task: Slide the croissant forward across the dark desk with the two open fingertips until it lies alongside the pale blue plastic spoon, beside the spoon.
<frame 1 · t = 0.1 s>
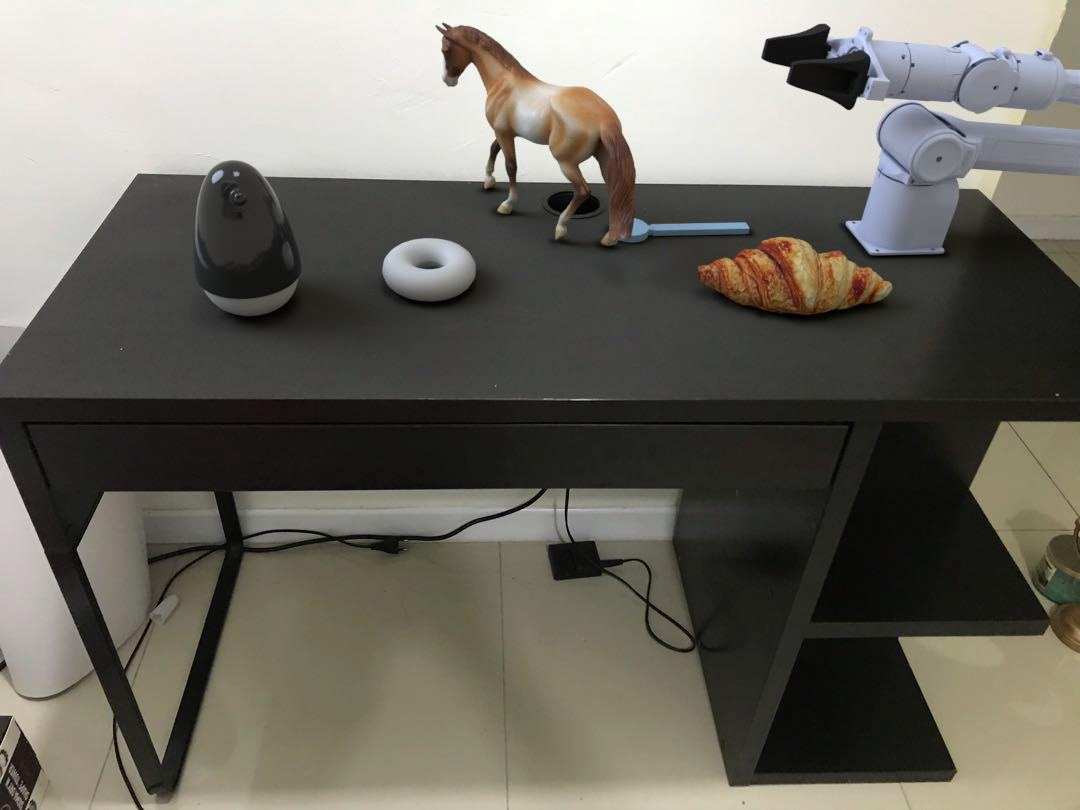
hand: (776, 60, 95), 22 cm above the table, tool horizontal, fingers open, 7 cm apart
donut: (429, 284, 98), on the table
pump dispenser: (255, 304, 93), on the table
spoon: (679, 232, 110), on the table
horse figurine: (527, 233, 108), on the table
croissant: (790, 300, 99), on the table
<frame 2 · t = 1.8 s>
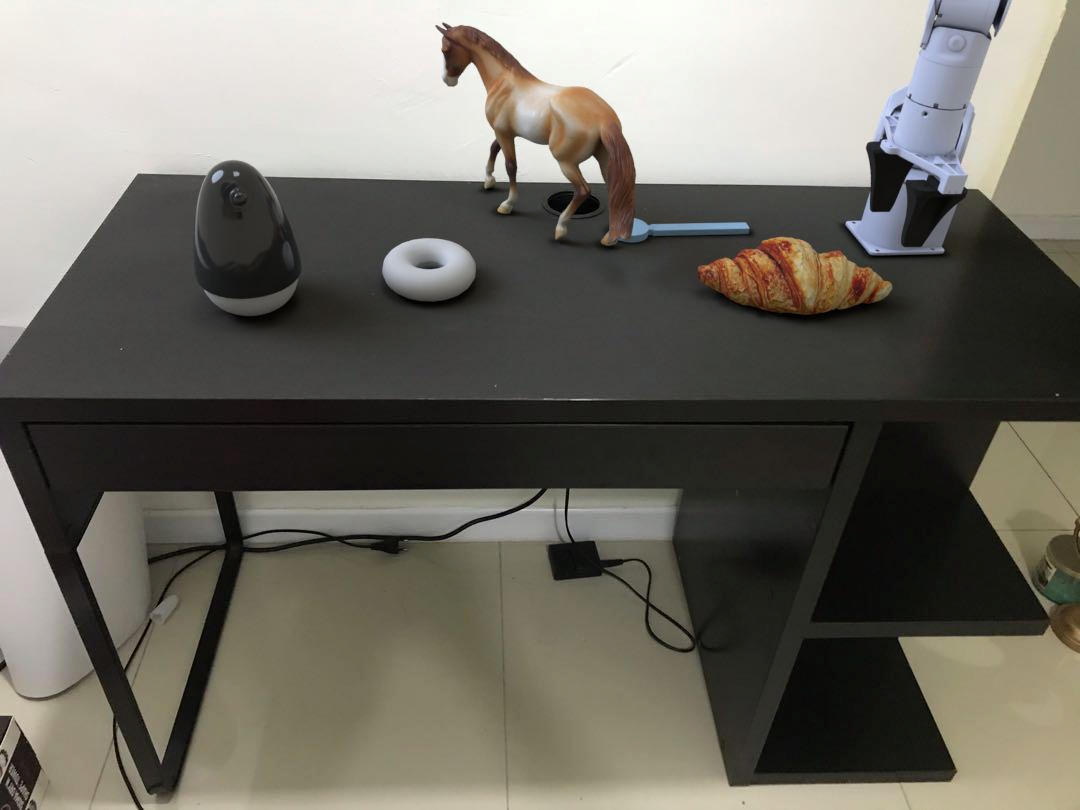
hand: (895, 227, 95), 8 cm above the table, tool pointing down, fingers open, 7 cm apart
nothing on the table moved.
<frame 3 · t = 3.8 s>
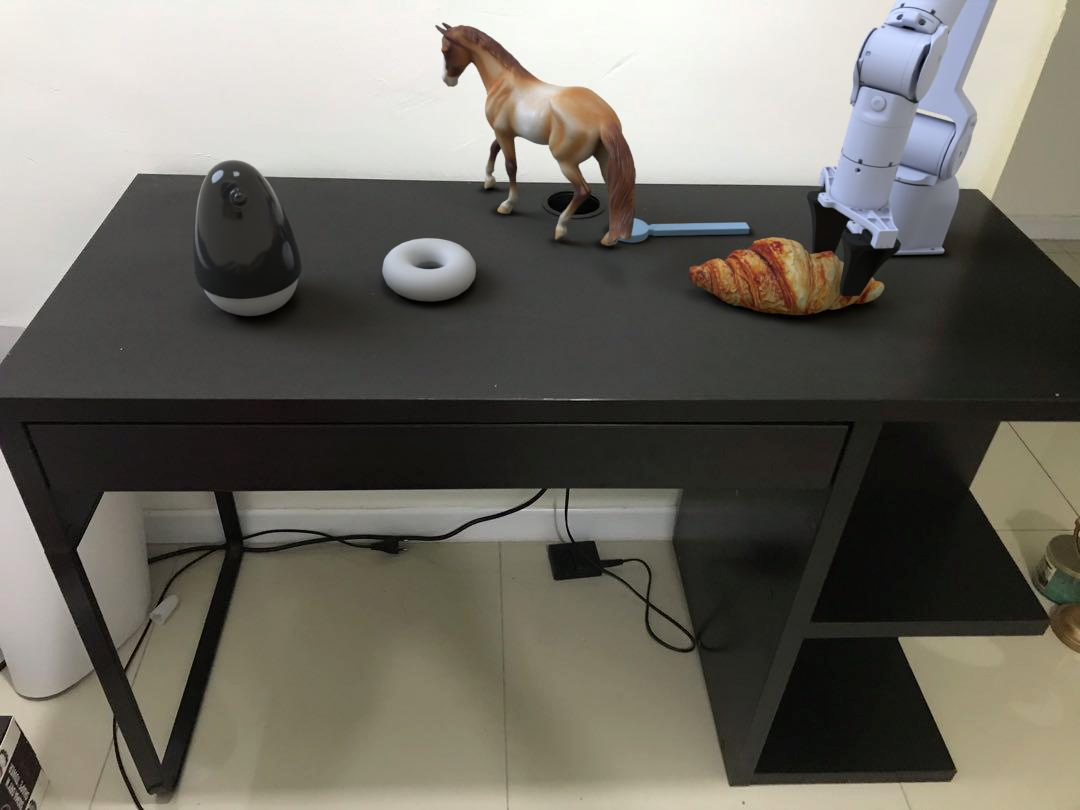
hand: (835, 275, 98), 3 cm above the table, tool pointing down
croissant: (782, 301, 99), on the table, touching gripper
everything else where it was.
when the fingers open (3 cm above the table, at t = 6.7 s): croissant stays where it is, on the table.
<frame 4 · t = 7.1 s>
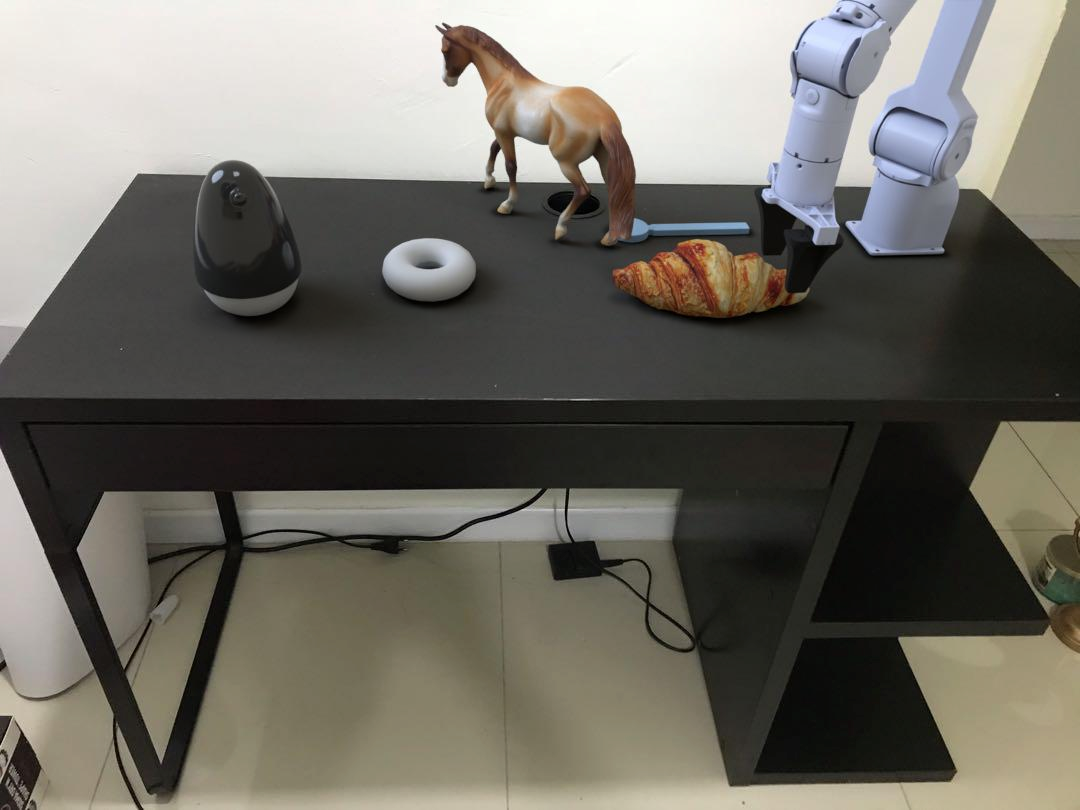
hand: (783, 272, 97), 3 cm above the table, tool pointing down, fingers open, 7 cm apart
croissant: (707, 303, 98), on the table
everything else where it was.
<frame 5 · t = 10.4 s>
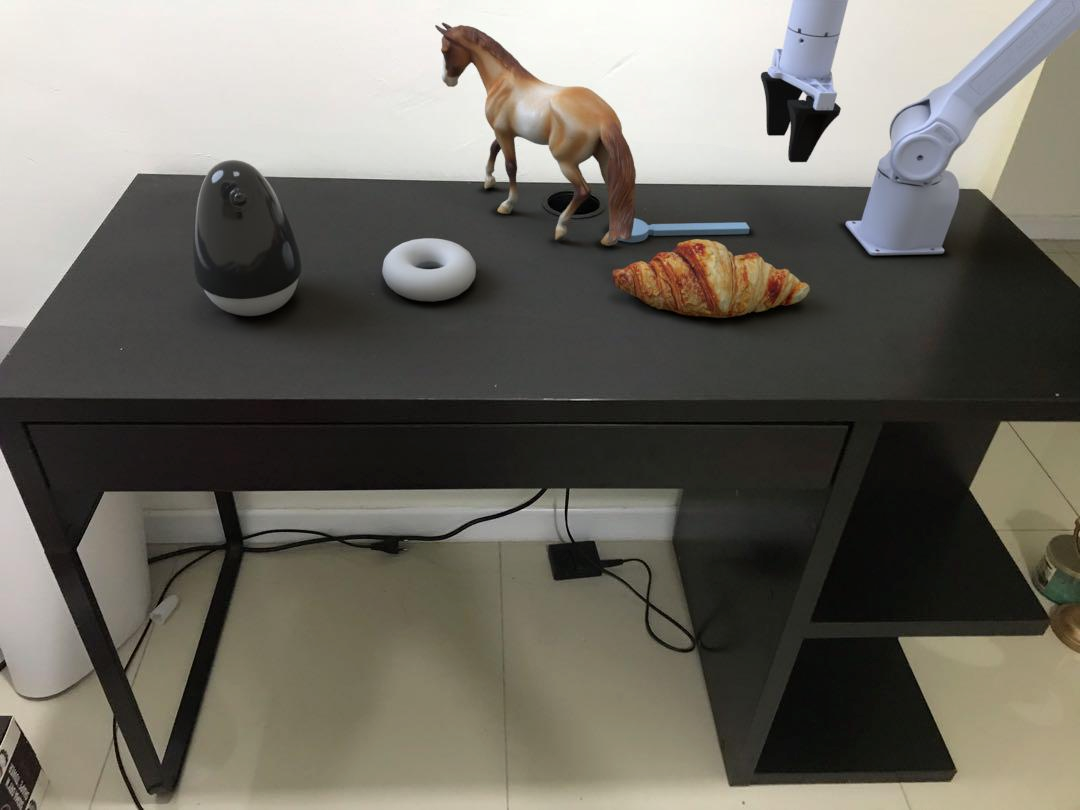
hand: (786, 147, 108), 9 cm above the table, tool pointing down, fingers open, 7 cm apart
nothing on the table moved.
at the end: croissant inside the target area on the table beside the spoon (1.1 cm from its centre), on the table; croissant moved 9.4 cm from its start; croissant tilted 1° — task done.
